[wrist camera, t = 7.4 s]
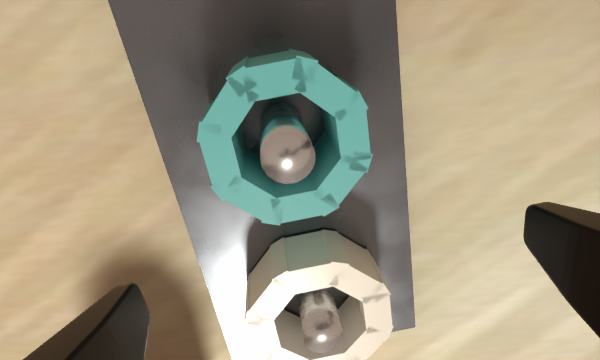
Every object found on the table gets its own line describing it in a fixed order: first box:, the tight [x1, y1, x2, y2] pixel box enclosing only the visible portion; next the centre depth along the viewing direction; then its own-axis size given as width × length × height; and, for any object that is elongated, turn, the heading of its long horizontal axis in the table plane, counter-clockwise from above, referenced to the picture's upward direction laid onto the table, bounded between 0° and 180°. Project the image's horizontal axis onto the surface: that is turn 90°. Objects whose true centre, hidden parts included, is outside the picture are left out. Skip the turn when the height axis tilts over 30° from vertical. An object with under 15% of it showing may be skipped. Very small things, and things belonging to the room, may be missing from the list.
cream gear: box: [244, 229, 394, 360], centre depth 20 cm, size 8×8×3 cm
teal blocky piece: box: [197, 48, 373, 226], centre depth 16 cm, size 7×7×4 cm
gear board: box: [108, 0, 415, 360], centre depth 18 cm, size 12×22×6 cm, turn 10°
